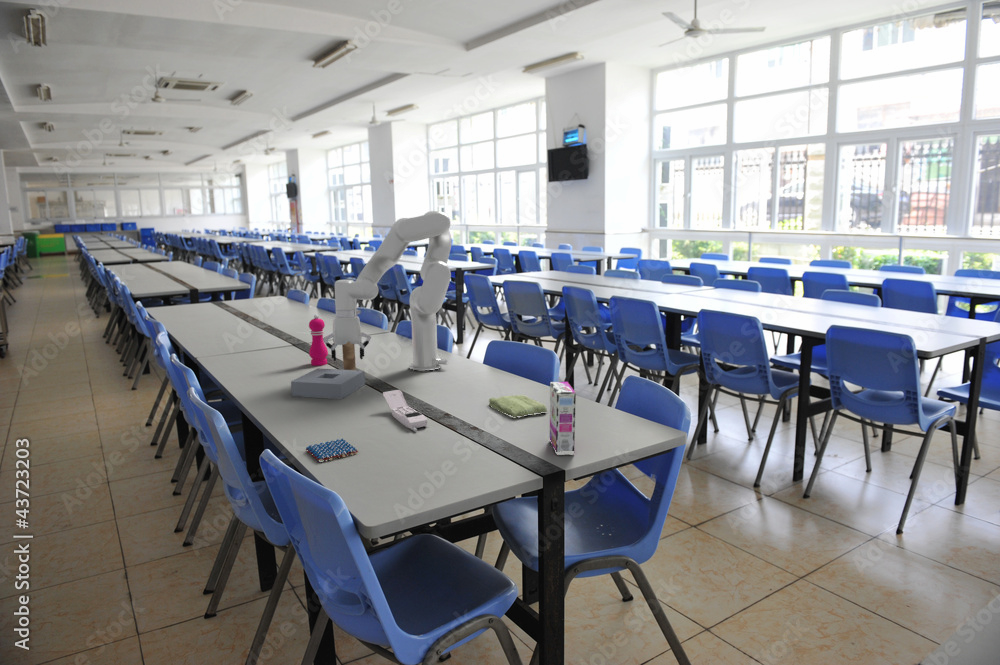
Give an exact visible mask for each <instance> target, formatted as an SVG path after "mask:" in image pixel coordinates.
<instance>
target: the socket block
mask: <svg viewBox="0 0 1000 665" xmlns="http://www.w3.org/2000/svg"><path fill="white" fill-rule="evenodd" d="M290 385H291V386H290V387H291V396H292V397H299V396H301V397H302V398H317V399H319V398H320V399H333V400H334V399H336V400H343V399H345V398H346V397H347V396H349V395H351V394H352V393H354V392H356V391H357V390H359V389H361V388H362V387H363V386H365V385H366V378H365V370H357V369H356V370H344V369H336V368H335V369H334V368H316V369H315V368H314V369H313V370H311V371H310V372H307V373H305V374H303V375H301V376H299V377H297V378H295V379H293V380H291V381H290Z"/></svg>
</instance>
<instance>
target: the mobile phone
mask: <svg viewBox="0 0 1000 665" xmlns="http://www.w3.org/2000/svg"><path fill="white" fill-rule="evenodd" d="M382 395H383V397H384V399H385V400H386V403H387V405H388V406H389V408H390V411H391V416H392V417H393V418H395V419H396V420H397V421H398V422H399V423H400V424H402V425H403V426H404V427H406V428H407V429H410V430H411V431H413V432H415V433H416V432H418V428H422V427H428V424H429V423H428V418H427V417H426V416H425V415H424V414H422V413H421V412H420V411H417V410H415V409H414V408H413V407H410V405H408V403H407V401H406V399H405V396H404V395H403V392H402V391H401V389H395V390H394V389H393V390H388V391H384V392H382Z"/></svg>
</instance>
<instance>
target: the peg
mask: <svg viewBox="0 0 1000 665" xmlns="http://www.w3.org/2000/svg"><path fill="white" fill-rule="evenodd" d="M341 346H342V347H341V348H342V365H343V370H357V369H356V368H357V366H356V350H355V347H356V344H351V343H350V342H349V341H348V342H347V344H345V345H341Z"/></svg>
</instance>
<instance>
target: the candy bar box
mask: <svg viewBox="0 0 1000 665" xmlns="http://www.w3.org/2000/svg"><path fill="white" fill-rule="evenodd" d="M549 384H550V387H549V388H550V390H549V438H550V440H551V442H552V445H553V447H554V448H555V450H556V452H560V451H561V452H562V451H574V452H575V438H576V436H575V435H576V434H575V431H576V430H575V429H576V399H577V398H576V396H577V393H576V391H575V389H573V387H572V386H571V384H570V383H569V381H550V383H549ZM552 445H551V446H552ZM553 447H552V448H553Z"/></svg>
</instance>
